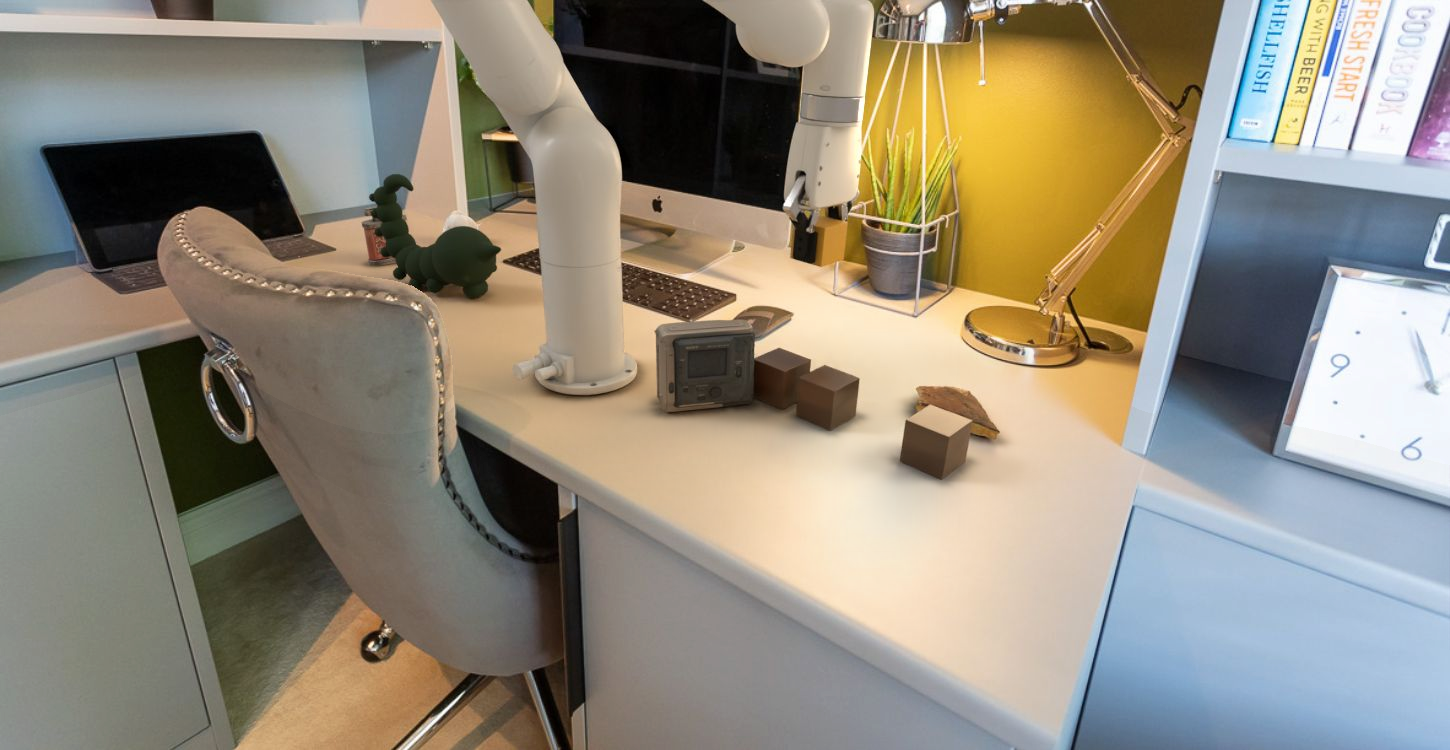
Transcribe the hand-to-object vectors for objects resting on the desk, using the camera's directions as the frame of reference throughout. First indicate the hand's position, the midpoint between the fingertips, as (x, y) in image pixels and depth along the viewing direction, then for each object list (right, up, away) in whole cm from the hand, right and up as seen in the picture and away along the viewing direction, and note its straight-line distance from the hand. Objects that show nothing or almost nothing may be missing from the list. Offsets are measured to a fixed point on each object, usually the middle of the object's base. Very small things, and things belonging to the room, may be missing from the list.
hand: (817, 255), depth 102 cm
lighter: (-72, +5, +39) cm, 82 cm away
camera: (-14, -19, -8) cm, 25 cm away
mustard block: (0, 0, 0) cm, 0 cm away
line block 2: (0, -20, -10) cm, 23 cm away
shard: (+16, -20, -9) cm, 27 cm away
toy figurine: (-57, -2, +25) cm, 63 cm away
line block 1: (-5, -18, -6) cm, 20 cm away
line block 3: (+10, -25, -19) cm, 33 cm away
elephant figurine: (-62, +10, +49) cm, 80 cm away
